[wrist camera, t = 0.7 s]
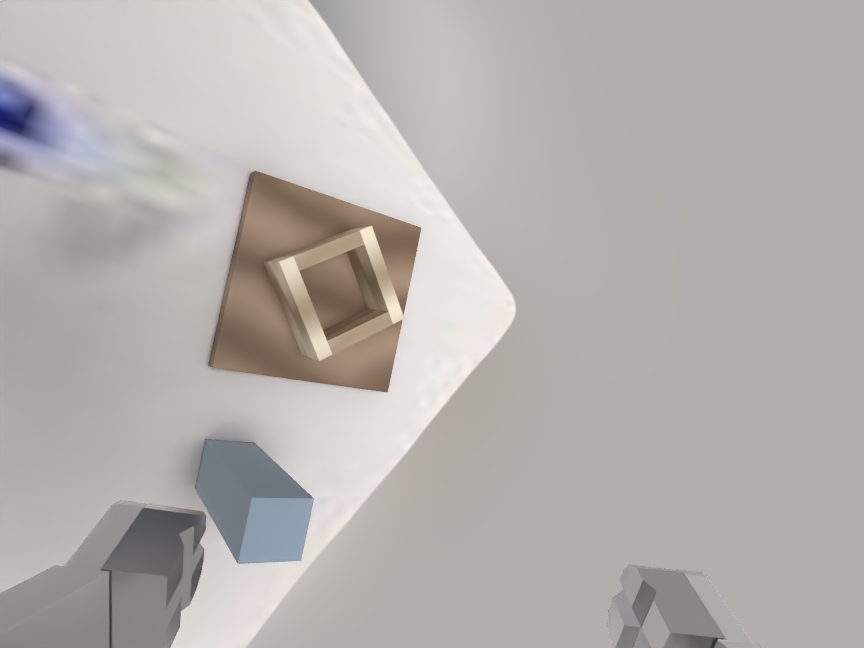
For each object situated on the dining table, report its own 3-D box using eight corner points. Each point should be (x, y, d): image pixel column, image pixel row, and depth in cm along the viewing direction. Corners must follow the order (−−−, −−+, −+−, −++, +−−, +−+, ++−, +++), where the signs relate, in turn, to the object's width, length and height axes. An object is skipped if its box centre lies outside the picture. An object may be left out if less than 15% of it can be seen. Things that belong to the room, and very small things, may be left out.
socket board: (250, 173, 45) (270, 162, 41) (413, 228, 54) (444, 224, 49) (208, 365, 45) (224, 375, 40) (380, 389, 53) (409, 400, 49)
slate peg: (205, 439, 45) (252, 497, 33) (254, 442, 47) (313, 498, 35) (194, 487, 45) (237, 563, 33) (244, 489, 47) (300, 560, 35)
